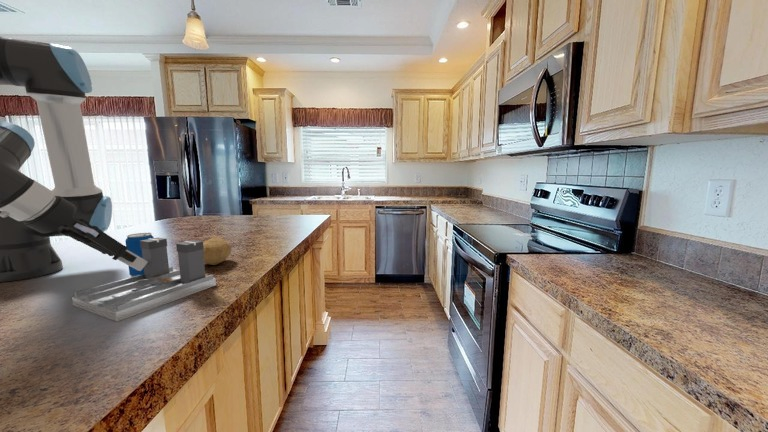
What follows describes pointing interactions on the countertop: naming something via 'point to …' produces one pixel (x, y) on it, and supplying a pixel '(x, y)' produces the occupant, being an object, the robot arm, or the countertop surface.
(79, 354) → the countertop surface
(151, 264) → the fader near
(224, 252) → the potato
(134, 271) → the beverage can
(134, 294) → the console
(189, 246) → the fader far
